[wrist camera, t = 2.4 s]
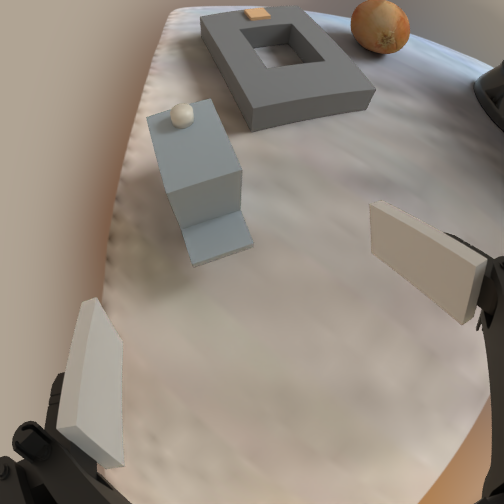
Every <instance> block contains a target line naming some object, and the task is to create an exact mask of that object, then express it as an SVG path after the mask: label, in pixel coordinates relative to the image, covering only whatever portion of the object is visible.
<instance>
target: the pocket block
mask: <svg viewBox="0 0 504 504" xmlns="http://www.w3.org/2000/svg"><path fill="white" fill-rule="evenodd" d="M200 25H201V37H202V39H203V41H204V42H205V44H206V46H207V48H208V50H209V52H210V53H211V55H212V57H213V59H214V61H215V63H216V65H217V66H218V68H219V70H220V72H221V74H222V76H223V78H224V80H225V81H226V83H227V85H228V87H229V89H230V91H231V93H232V95H233V97H234V99H235V101H236V103H237V105H238V107H239V109H240V111H241V112H242V114H243V116H244V118H245V120H246V122H247V124H248V126H249V128H250V130H251V132H254V131H258V130H263V129H267V128H271V127H275V126H280V125H284V124H289V123H294V122H298V121H303V120H308V119H313V118H319V117H324V116H329V115H335V114H341V113H347V112H353V111H360V110H366V109H367V107H368V105H369V103H370V101H371V99H372V97H373V95H374V93H375V91H376V88H375V87H374V86H373V85H372V83H371V82H370V81H369V80H368V79H367V77H366V76H365V75H364V74H363V73H362V71H361V70H360V69H359V68H358V67H357V66H356V64H355V63H354V62H353V61H352V60H351V59H350V58H349V56H348V55H347V54H346V53H345V52H344V51H343V50H342V49H341V48H340V47H339V46H338V44H337V43H336V42H335V41H334V40H333V39H332V38H331V37H330V36H329V35H328V34H327V33H326V32H325V31H324V30H323V29H322V28H321V27H320V26H319V25H318V24H317V23H316V22H315V21H314V20H313V19H312V18H311V17H310V16H309V15H308V14H306V13H305V12H304V11H303V10H302V9H301V8H300V7H299V6H280V7H266V8H254V9H245V10H239V11H231V12H225V13H218V14H213V15H207V16H202V17H200ZM280 44H289V45H290V46H291V47H292V48H293V50H294V51H295V52H296V53H297V55H298V56H299V57H300V58H301V60H302V61H303V62H304V64H296V65H288V66H281V67H274V68H268V69H267V68H266V66H265V65H264V63H263V62H262V60H261V59H260V58H259V56H258V55H257V53H256V52H255V50H254V49H253V48H257V47H264V46H272V45H280Z"/></svg>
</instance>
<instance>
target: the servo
mask: <svg viewBox="0 0 504 504" xmlns="http://www.w3.org/2000/svg"><path fill="white" fill-rule="evenodd" d="M146 118H147V123H148V127H149V131H150V135H151V139H152V143H153V147H154V151H155V154H156V158H157V162H158V166H159V169H160V173H161V177H162V180H163V184H164V188H165V191H166V194H167V197H168V199H169V202H170V204H171V207H172V209H173V212H174V214H175V216H176V219H177V221H178V224H179V226H180V228H181V231H182V234H183V238H184V241H185V244H186V247H187V250H188V253H189V256H190V260H191V263H192V265H193V267H197V266H200V265H203V264H206V263H209V262H211V261H214V260H217V259H220V258H223V257H226V256H229V255H232V254H235V253H238V252H241V251H244V250H247V249H249V248H252V247H253V245H254V242H253V240H252V237H251V235H250V232H249V230H248V227H247V225H246V222H245V220H244V217H243V215H242V212H241V187H242V168H241V166H240V163H239V161H238V159H237V157H236V154H235V152H234V150H233V147H232V145H231V143H230V140H229V138H228V136H227V134H226V131H225V129H224V127H223V125H222V122H221V120H220V118H219V116H218V113H217V111H216V109H215V107H214V104H213V102H212V100H211V98H210V99H206V100H202V101H199V102H195V103H191V104H185V103H182V104H178V105H175V106H174V107H173V108H172V109H171V110H167V111H164V112H161V113H158V114H155V115H152V116H149V117H146Z"/></svg>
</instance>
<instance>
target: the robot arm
mask: <svg viewBox="0 0 504 504" xmlns="http://www.w3.org/2000/svg"><path fill="white" fill-rule="evenodd" d="M474 90H475V94H476V96H477V98H478V100H479V102H480V104H481V105H482V107H483V108H484V110H485V111H486V112H487V114H488V115H489V116H490V117H491V119H492V120H493V121H494V122H495V123H496V124H497V125H498V126H499V127H500V128H501V129H502V130H503V131H504V60H503V62H502V63H501V64H500V65H499V66H497V67H495V68H494V69H492V70H490V71H488V72H487V73H485V74H483V75H482V76H480V77H479V79H478V80H477V81H476V83H475V84H474ZM369 206H370V224H371V253H372V254H373V255H375V256H376V257H377V258H379V259H380V260H381V261H383V262H384V263H385V264H387V265H388V266H389V267H391V268H392V269H393V270H394V271H396V272H397V273H398V274H400V275H401V276H402V277H403V278H405V279H406V280H407V281H409V282H410V283H411V284H412V285H414V286H415V287H416V288H417V289H419V290H420V291H421V292H422V293H424V294H425V295H426V296H427V297H428V298H430V299H431V300H432V301H433V302H435V303H436V304H437V305H438V306H439V307H441V308H442V309H443V310H444V311H445V312H447V313H448V314H449V315H450V316H451V317H453V318H454V319H455V320H456V321H457V322H458V323H460V324H461V325H463V324H465V323H466V322H468V321H469V320H470V319H472V318H473V317H474V313H475V310H476V306H477V305H478V306H479V307H480V308H481V309H482V310H481V314H480V317H479V320H478V323H477V326H476V331H478V330H479V327H480V325H481V324H482V331H483V334H484V340H485V346H486V354H487V361H488V370H489V380H490V393H491V408H492V455H491V467H490V470H489V472H488V474H487V476H486V478H485V482H484V486H483V491H482V499H481V500H479V501H478V502H476V503H474V504H504V256H501V257H498V258H496V259H493V258H492V257H490V256H488V255H487V254H485V253H484V252H482V251H480V250H479V249H477V248H475V247H474V246H470V244H469V243H467V242H464V241H463V240H462V239H460V238H458V237H456V236H455V235H451V234H448V233H445V232H441V231H439V230H438V229H436V228H434V227H432V226H430V225H429V224H427V223H425V222H423V221H421V220H419V219H417V218H416V217H414V216H412V215H410V214H408V213H406V212H404V211H402V210H400V209H398V208H396V207H394V206H392V205H390V204H388V203H386V202H384V201H382V200H380V201H377V202H374V203H371V204H369ZM122 361H123V341H122V340H121V338H120V336H119V335H118V333H117V332H116V330H115V328H114V327H113V325H112V323H111V322H110V320H109V318H108V316H107V315H106V313H105V311H104V309H103V308H102V306H101V304H100V302H99V301H98V299H97V297H95V298H92V299H89V300H87V301H84V302H82V304H81V308H80V311H79V315H78V319H77V322H76V326H75V330H74V334H73V338H72V343H71V347H70V352H69V356H68V361H67V365H66V370H65V372H64V373H60V374H58V376H57V377H56V379H55V381H54V383H53V384H52V389H51V394H50V396H51V397H50V399H49V407H48V411H47V416H46V423H45V429H43V428H42V427H41V426H40V425H38V424H37V423H36V422H34V421H28V422H25V423H23V424H22V425H20V426H19V427H18V429H17V430H16V432H15V434H14V436H13V441H12V446H13V449H14V451H15V452H17V453H18V454H19V455H20V456H22V457H23V458H24V459H23V460H21V461H19V462H17V463H16V462H15V461H14V460H12V459H11V458H10V457H7V456H3V457H0V504H131V503H130V502H129V501H128V500H127V499H126V498H125V497H124V496H123V495H122V494H121V493H119V492H118V491H117V490H116V489H115V488H114V487H113V486H112V485H111V484H110V483H109V482H108V481H107V480H106V479H105V478H104V477H103V476H102V475H101V474H99V473H98V472H97V463H98V464H100V465H101V466H102V467H104V468H105V469H111V468H118V467H124V466H125V464H124V449H123V426H122Z"/></svg>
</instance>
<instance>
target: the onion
mask: <svg viewBox="0 0 504 504" xmlns="http://www.w3.org/2000/svg"><path fill="white" fill-rule="evenodd" d="M351 31H352V33H353V35H354V37H355V39H356V40H357V41H358V43H359V44H360V45H361V46H362V47H364V48H366V49H368V50H370V51H373V52H376V53H381V54H390V53H394V52H397V51H399V50H400V49H402V48H403V46H404V45H405V44H406V43H407V41H408V39H409V35H410V25H409V21H408V18H407V16H406V15H405V13H404V12H403V11H402V9H401V8H399V7H398V6H397V5H395V4H393V3H391V2H389V1H386V0H367V1H365V2H363V3H361V4H360V5H358V6H357V7H356V9H355V10H354V12H353V14H352V18H351Z"/></svg>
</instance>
